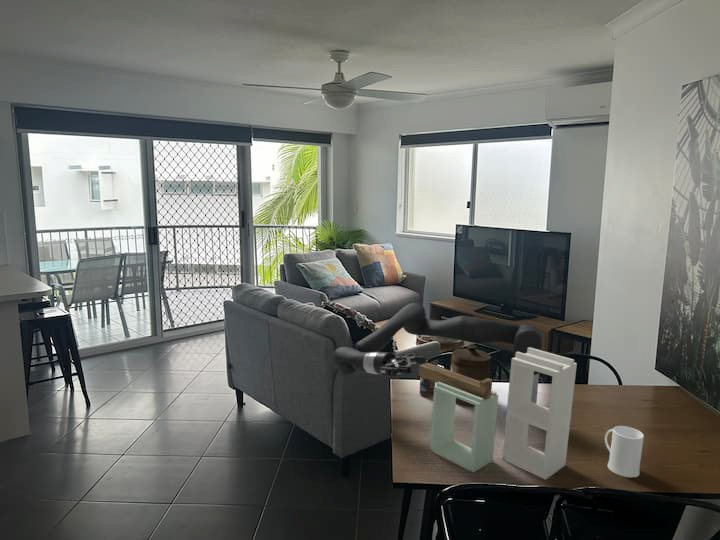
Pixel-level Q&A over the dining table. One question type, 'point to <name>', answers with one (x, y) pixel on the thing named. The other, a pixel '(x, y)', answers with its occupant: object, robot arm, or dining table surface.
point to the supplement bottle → (426, 387)
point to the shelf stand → (539, 412)
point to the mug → (625, 451)
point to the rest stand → (445, 427)
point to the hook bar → (456, 380)
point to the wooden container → (471, 366)
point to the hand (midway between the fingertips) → (418, 364)
